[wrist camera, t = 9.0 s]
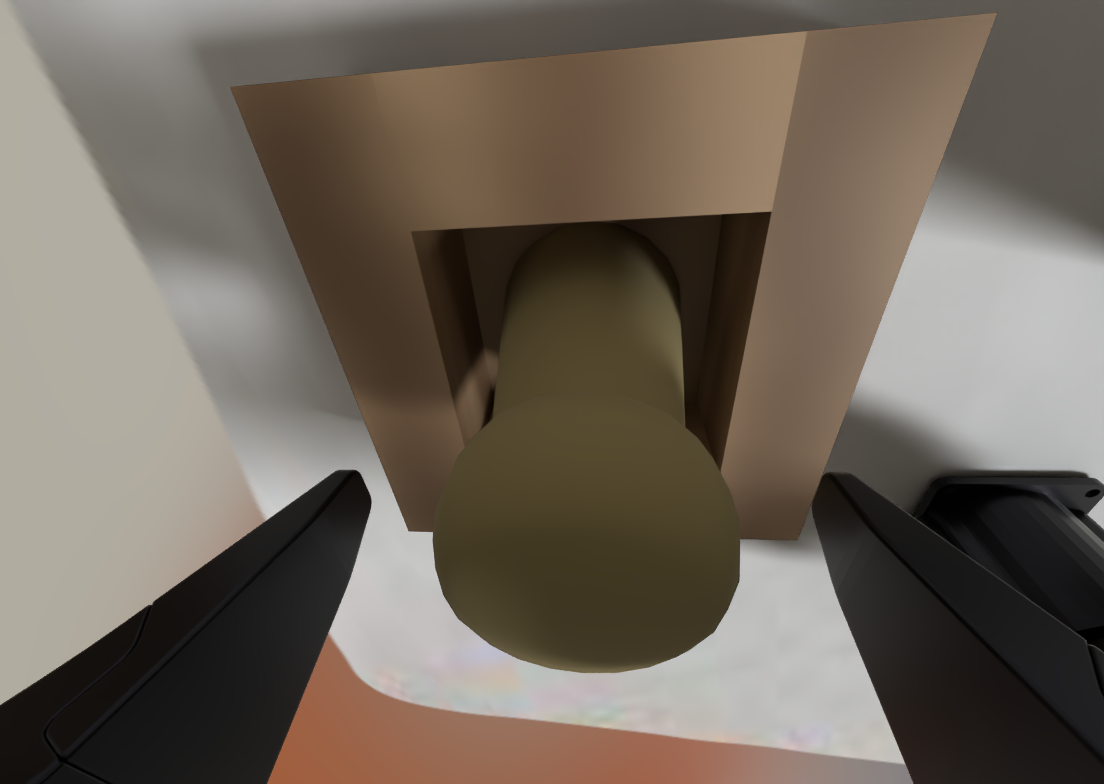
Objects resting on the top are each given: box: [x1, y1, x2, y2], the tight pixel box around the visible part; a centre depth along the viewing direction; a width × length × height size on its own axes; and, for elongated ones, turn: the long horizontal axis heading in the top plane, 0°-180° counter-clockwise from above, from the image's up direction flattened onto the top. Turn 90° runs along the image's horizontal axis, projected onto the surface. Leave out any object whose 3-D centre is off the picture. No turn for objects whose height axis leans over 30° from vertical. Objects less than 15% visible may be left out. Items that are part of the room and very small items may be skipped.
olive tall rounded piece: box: [433, 221, 740, 673], centre depth 11 cm, size 6×6×11 cm
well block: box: [230, 13, 997, 540], centre depth 14 cm, size 14×14×5 cm
